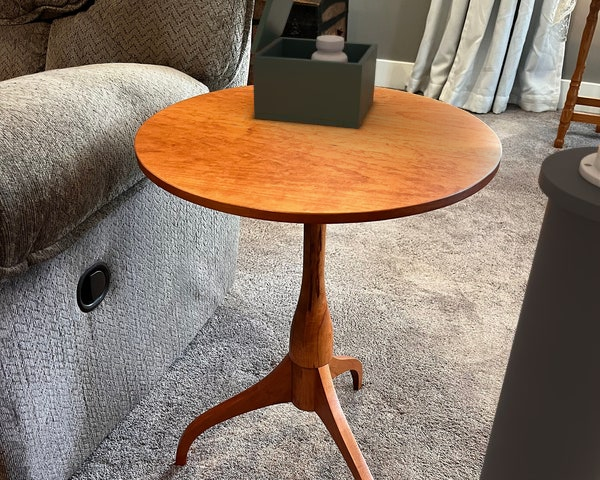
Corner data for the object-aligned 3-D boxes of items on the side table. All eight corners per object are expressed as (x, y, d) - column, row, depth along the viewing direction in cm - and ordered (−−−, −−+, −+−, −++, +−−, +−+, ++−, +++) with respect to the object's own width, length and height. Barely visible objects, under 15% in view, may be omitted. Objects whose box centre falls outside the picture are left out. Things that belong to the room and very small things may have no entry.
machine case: (373, 101, 103) (377, 43, 98) (358, 128, 92) (362, 64, 87) (279, 93, 106) (279, 36, 101) (254, 118, 95) (252, 56, 90)
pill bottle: (314, 98, 101) (316, 32, 96) (348, 101, 100) (352, 35, 95) (305, 108, 97) (306, 40, 92) (340, 112, 96) (344, 43, 90)
